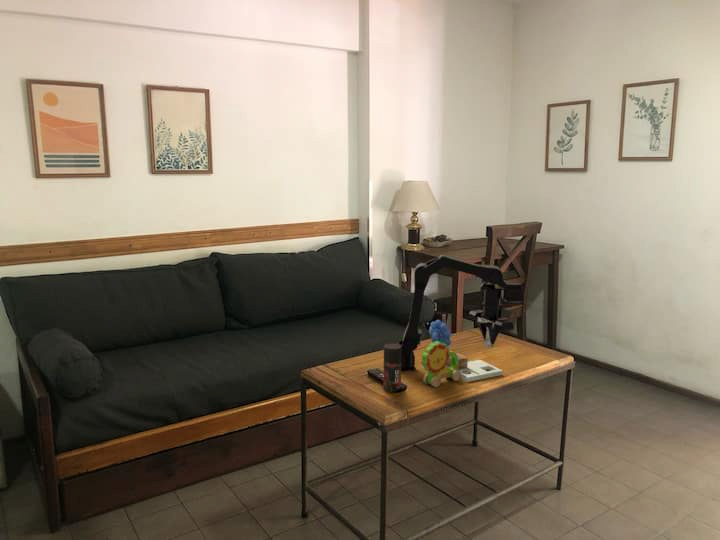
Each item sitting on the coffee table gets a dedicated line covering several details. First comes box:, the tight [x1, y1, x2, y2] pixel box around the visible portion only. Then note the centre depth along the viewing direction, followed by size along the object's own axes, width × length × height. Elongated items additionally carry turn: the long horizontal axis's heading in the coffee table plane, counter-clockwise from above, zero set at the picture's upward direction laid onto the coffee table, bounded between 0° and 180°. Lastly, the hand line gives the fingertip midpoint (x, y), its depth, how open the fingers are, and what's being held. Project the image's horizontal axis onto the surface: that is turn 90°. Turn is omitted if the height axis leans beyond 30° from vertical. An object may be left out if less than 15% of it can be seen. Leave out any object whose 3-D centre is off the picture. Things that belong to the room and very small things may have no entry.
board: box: [447, 359, 504, 383], centre depth 213 cm, size 16×13×2 cm
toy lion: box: [421, 341, 461, 388], centre depth 202 cm, size 16×5×15 cm, turn 126°
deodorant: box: [382, 343, 402, 392], centre depth 197 cm, size 6×6×15 cm
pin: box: [484, 325, 495, 348], centre depth 212 cm, size 3×3×7 cm
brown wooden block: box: [446, 352, 469, 369], centre depth 214 cm, size 6×6×4 cm
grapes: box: [428, 319, 452, 348], centre depth 238 cm, size 12×7×12 cm, turn 40°
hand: (489, 342), depth 212 cm, fingers closed on pin, 3 cm apart
